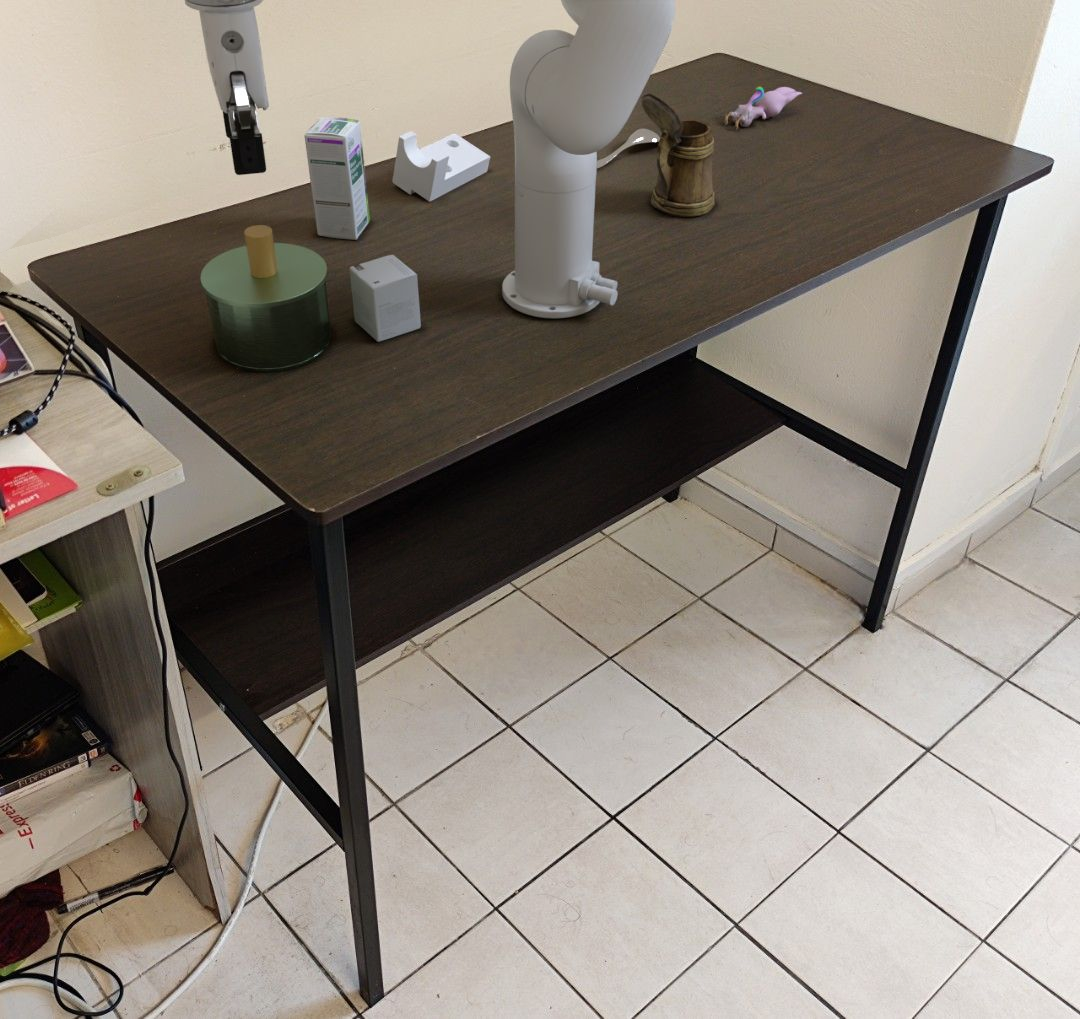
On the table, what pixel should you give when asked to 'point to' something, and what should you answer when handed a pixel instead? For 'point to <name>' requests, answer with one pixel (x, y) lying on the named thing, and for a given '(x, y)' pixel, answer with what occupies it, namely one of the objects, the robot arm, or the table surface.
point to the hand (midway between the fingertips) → (246, 154)
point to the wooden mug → (681, 162)
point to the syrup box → (337, 177)
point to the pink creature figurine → (762, 105)
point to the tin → (272, 333)
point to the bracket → (436, 165)
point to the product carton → (385, 297)
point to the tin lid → (263, 272)
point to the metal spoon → (632, 143)
